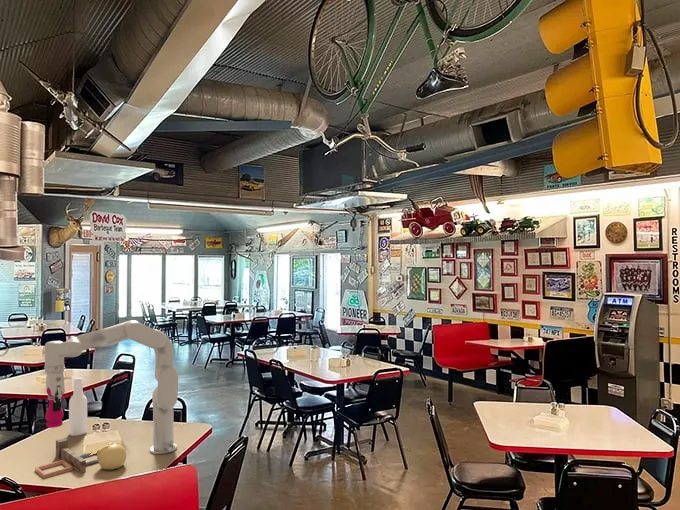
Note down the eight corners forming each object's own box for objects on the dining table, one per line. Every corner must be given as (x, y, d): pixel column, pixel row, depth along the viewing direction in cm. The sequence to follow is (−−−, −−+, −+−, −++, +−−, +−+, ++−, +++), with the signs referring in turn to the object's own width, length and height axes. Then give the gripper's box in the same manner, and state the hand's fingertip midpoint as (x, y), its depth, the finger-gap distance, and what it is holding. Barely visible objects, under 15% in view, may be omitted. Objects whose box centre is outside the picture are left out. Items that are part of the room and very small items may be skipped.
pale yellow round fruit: (118, 459, 235) (118, 436, 235) (131, 466, 227) (130, 442, 227) (93, 467, 226) (93, 443, 226) (106, 474, 219) (105, 450, 219)
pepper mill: (43, 429, 219) (42, 383, 220) (47, 424, 226) (47, 379, 227) (61, 427, 221) (61, 382, 222) (65, 422, 228) (65, 378, 229)
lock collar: (72, 469, 224) (72, 466, 224) (44, 478, 215) (44, 474, 215) (63, 462, 232) (63, 459, 232) (35, 470, 223) (35, 467, 223)
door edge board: (88, 470, 223) (88, 452, 223) (78, 473, 220) (78, 455, 220) (64, 454, 242) (64, 438, 242) (55, 457, 239) (55, 440, 239)
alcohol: (69, 432, 274) (69, 377, 274) (87, 429, 277) (87, 375, 278) (68, 437, 266) (68, 380, 266) (86, 434, 269) (86, 379, 270)
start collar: (108, 459, 236) (108, 456, 236) (83, 466, 227) (83, 463, 227) (98, 452, 243) (98, 449, 243) (73, 460, 235) (73, 456, 235)
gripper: (70, 370, 221) (70, 411, 221) (56, 365, 233) (56, 404, 232) (52, 373, 216) (52, 415, 215) (38, 367, 227) (38, 407, 227)
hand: (54, 409), depth 224 cm, fingers closed on pepper mill, 5 cm apart
